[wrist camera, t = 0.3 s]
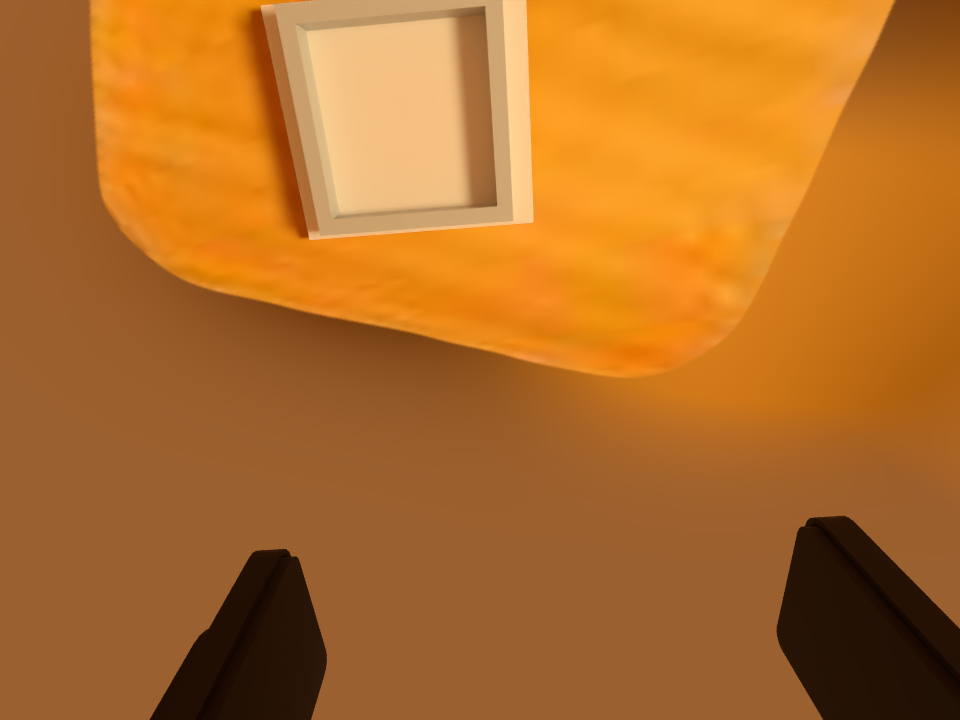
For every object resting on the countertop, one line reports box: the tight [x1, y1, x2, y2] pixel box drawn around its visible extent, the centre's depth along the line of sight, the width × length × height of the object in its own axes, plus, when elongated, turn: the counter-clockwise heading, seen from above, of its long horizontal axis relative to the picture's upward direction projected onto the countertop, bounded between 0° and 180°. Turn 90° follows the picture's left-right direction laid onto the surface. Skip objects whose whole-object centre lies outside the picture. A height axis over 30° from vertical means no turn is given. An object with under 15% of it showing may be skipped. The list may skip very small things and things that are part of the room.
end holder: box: [261, 0, 533, 240], centre depth 32 cm, size 14×16×3 cm
